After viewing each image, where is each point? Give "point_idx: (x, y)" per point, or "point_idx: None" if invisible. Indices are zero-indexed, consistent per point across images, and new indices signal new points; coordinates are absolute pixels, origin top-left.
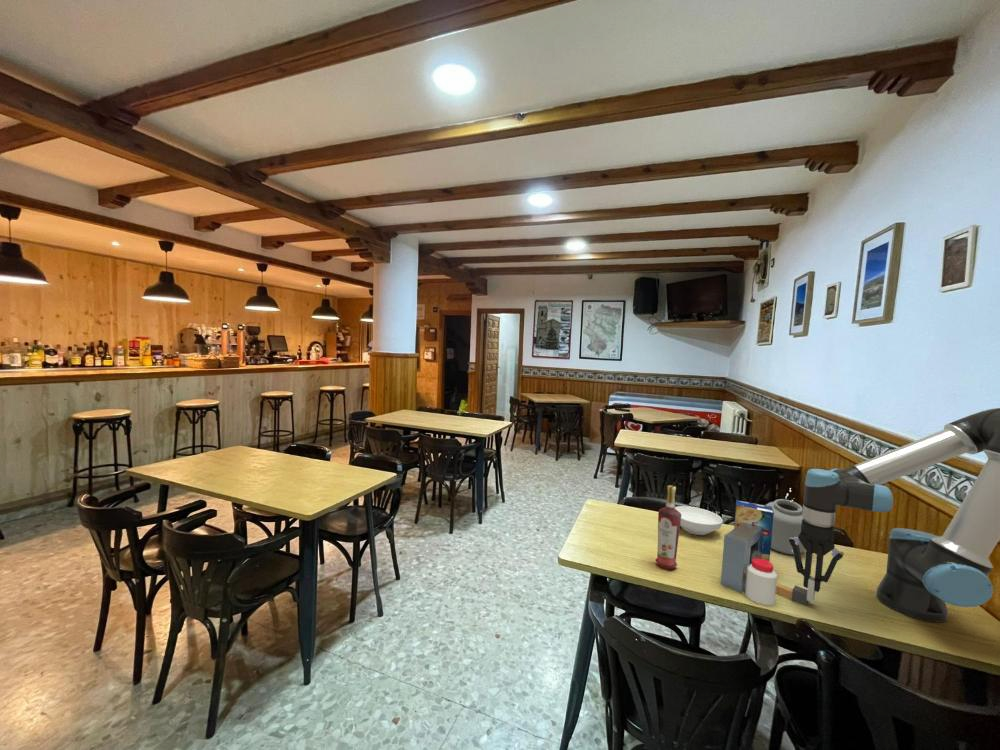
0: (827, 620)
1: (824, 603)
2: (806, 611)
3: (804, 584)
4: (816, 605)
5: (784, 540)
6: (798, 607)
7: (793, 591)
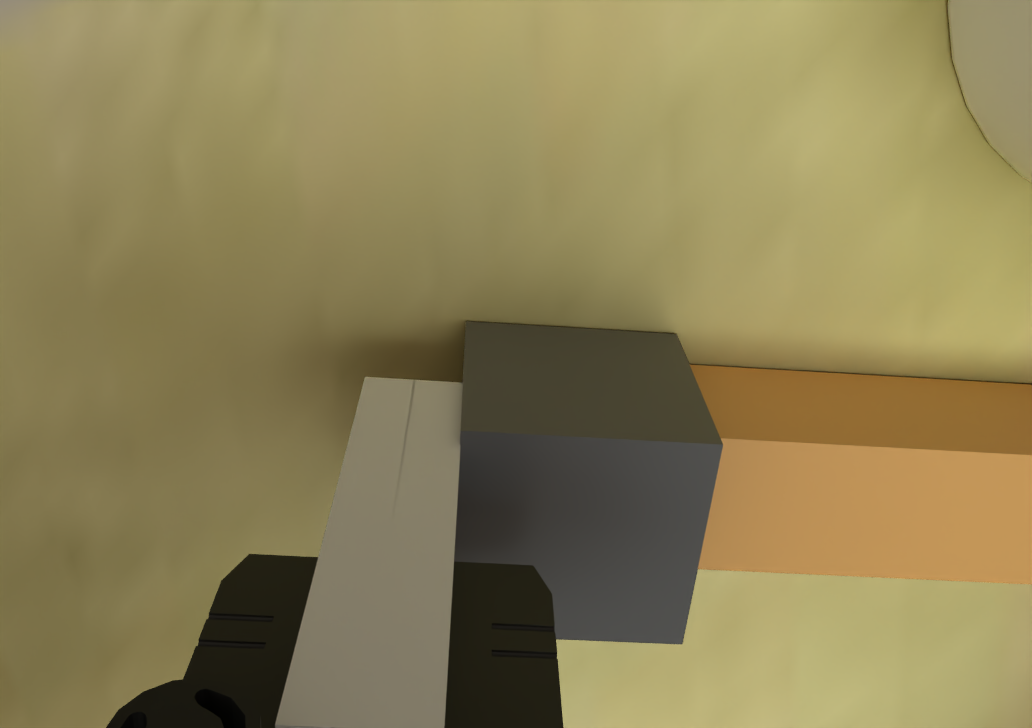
0: (98, 89)
1: None
2: (431, 134)
3: (530, 608)
4: None
5: None
6: (560, 174)
7: (696, 422)
